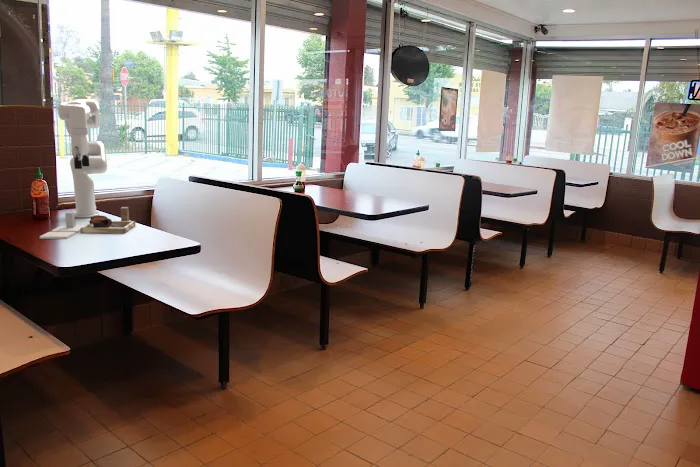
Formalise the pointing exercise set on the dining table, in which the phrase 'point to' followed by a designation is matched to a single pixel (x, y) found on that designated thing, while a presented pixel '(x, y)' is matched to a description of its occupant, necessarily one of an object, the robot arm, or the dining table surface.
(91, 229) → the beige rectangular tray
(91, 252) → the dining table surface
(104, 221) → the brown rounded lump
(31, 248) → the dining table surface
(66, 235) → the white base with block
